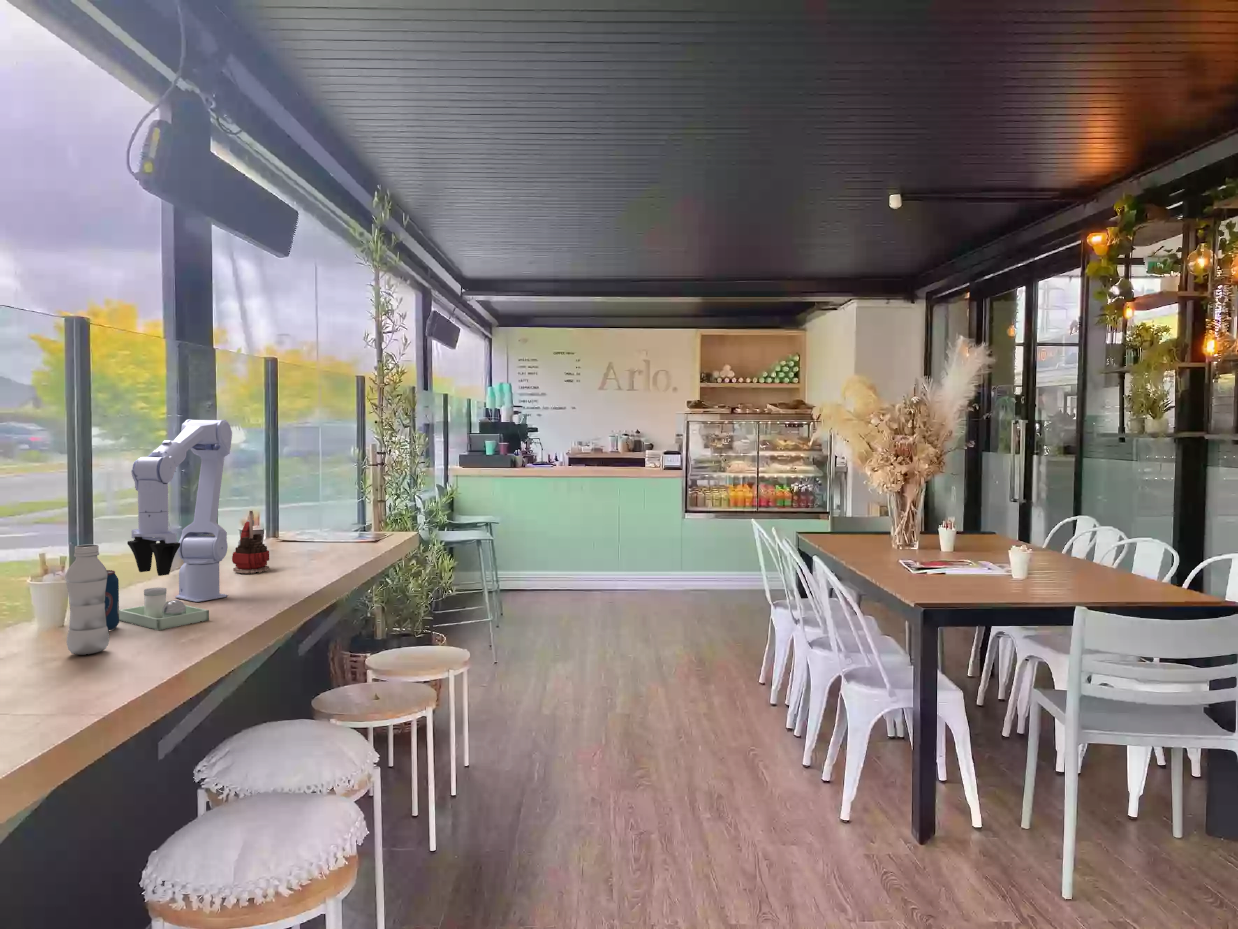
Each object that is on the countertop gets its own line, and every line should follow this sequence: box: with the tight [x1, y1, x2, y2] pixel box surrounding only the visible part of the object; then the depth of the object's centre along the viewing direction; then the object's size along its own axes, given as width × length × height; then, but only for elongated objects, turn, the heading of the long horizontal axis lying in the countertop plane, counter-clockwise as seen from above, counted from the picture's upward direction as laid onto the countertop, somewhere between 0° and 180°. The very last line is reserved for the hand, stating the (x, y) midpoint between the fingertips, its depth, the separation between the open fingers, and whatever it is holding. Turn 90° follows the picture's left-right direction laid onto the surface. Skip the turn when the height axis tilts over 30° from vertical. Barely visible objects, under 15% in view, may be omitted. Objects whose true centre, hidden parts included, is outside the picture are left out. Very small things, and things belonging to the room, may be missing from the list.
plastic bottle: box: [65, 544, 110, 656], centre depth 148 cm, size 6×7×20 cm
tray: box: [119, 600, 210, 631], centre depth 175 cm, size 16×11×2 cm
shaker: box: [143, 587, 167, 618], centre depth 177 cm, size 4×4×6 cm
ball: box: [162, 599, 186, 618], centre depth 173 cm, size 5×5×5 cm
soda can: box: [104, 569, 120, 632], centre depth 166 cm, size 7×7×12 cm
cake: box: [231, 510, 270, 575], centre depth 235 cm, size 11×9×18 cm
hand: (154, 573), depth 177 cm, fingers open, 7 cm apart
